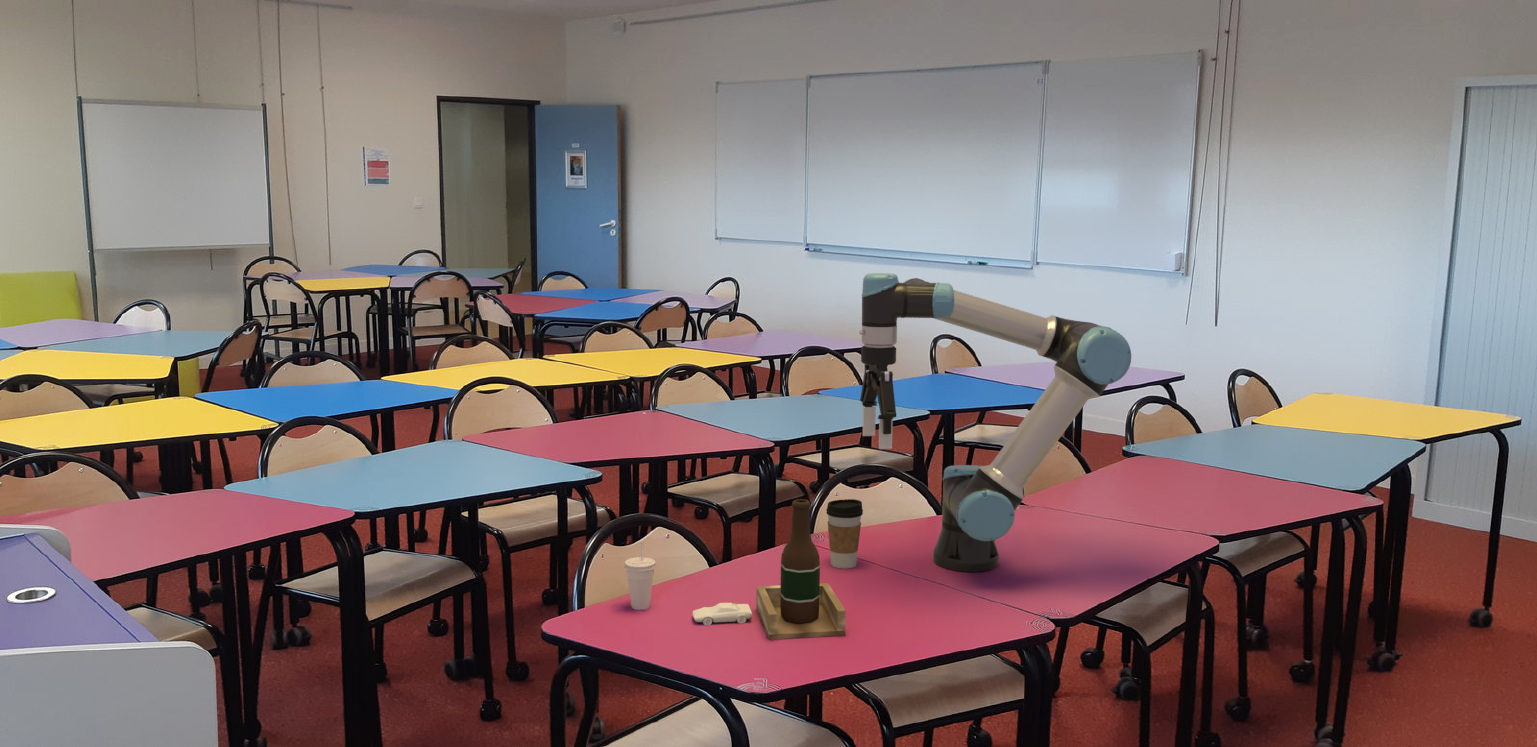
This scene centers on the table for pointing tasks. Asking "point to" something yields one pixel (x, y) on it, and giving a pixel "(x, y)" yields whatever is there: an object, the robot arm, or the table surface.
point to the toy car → (723, 613)
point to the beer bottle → (800, 570)
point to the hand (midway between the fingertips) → (876, 442)
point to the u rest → (824, 625)
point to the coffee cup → (844, 531)
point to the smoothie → (640, 580)
